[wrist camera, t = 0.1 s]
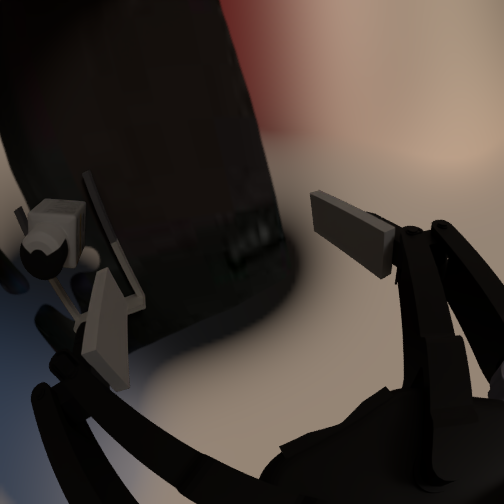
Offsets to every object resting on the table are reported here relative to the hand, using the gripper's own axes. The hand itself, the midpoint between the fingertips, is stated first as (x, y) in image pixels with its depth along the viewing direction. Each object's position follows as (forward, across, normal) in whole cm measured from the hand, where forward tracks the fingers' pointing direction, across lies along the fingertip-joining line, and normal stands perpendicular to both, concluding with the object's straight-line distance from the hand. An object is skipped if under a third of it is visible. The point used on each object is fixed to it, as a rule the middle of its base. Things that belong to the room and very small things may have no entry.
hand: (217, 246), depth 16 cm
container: (+28, -20, -1) cm, 34 cm away
